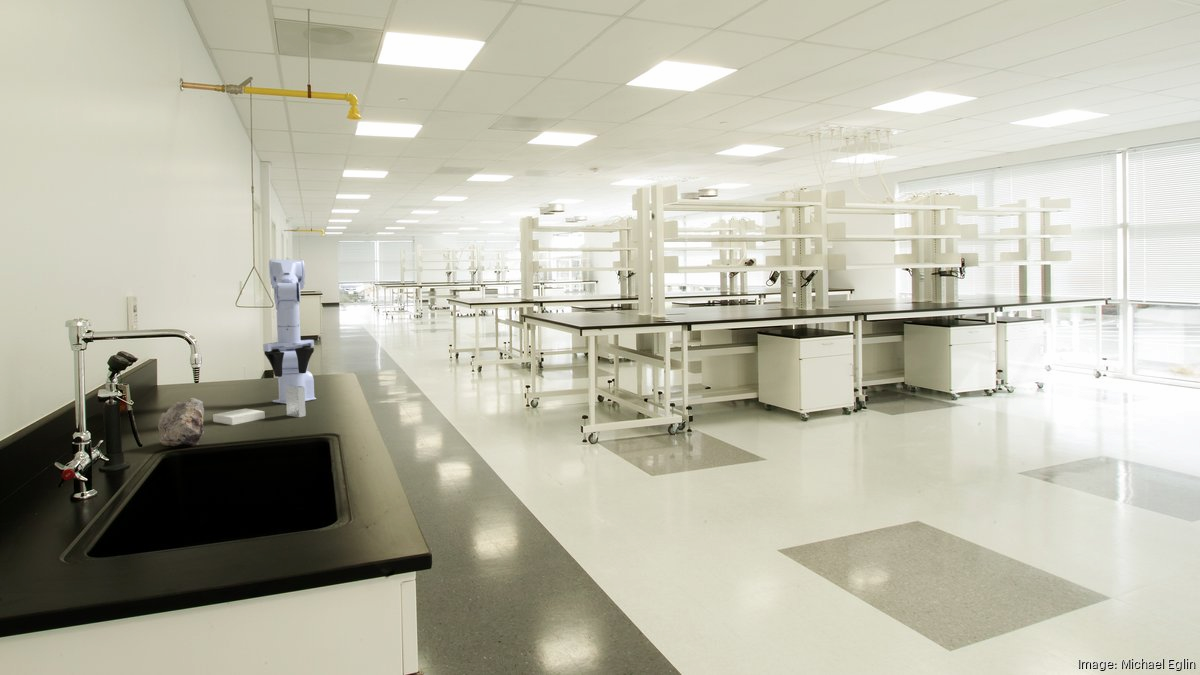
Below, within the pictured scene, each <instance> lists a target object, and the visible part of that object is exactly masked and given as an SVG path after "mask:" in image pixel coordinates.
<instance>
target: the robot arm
mask: <svg viewBox="0 0 1200 675" xmlns="http://www.w3.org/2000/svg"><path fill="white" fill-rule="evenodd" d="M268 267H269V278H270V285H271V288H272V289H273V297H274V299H273V300H274V304H275V310H276V328H277V329H276V330H277V333H276V334H277V342H275V341H274V342H269V343H263V344H262V346H263V348H262V349H263V350H262V351H263V352H264V356H265V357H266V358H267V360H268V362H269V363H270V365H271V368H272V372H273V375H274V377H276V378H277V380H278V383H277V384H278V399H273V400H272V403H280V404H286V386H291V385H294V386H302V387H305V402H308V401H314V400H317V397H315V380H314V376H313V374H312V372H310V371H309V370H308V369H309V368H310V367H309V366H310V364H309V362H310V358H311V357H312V354H313V353H314V351H315V348H314V347H315V340H314V339H301V321H300V320H301V318H300V315H301V313H300V303H301V301H302V300H301V290H303V289H304V288H305V283H306V282H305V280H306V279H305V278H306V270H305V261H304V260H303V259H278V258H277V259H274V258H271V259H270V260H269V262H268Z"/></svg>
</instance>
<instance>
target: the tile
mask: <svg viewBox="0 0 1200 675" xmlns="http://www.w3.org/2000/svg"><path fill="white" fill-rule="evenodd" d="M265 414H266V413H265V411H263V410H258V409H251V408H242V409H241V408H240V409H237V410H236V409H235V410H230V411H229V410H228V411H226V412H219V413H215V414H212V420H213V422H214V423H219V424H225V425H231V426H234V425H239V424H244V423H248V422H253V421H259V420H263V419H266V415H265Z"/></svg>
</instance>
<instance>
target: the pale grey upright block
mask: <svg viewBox="0 0 1200 675" xmlns="http://www.w3.org/2000/svg"><path fill="white" fill-rule="evenodd" d="M306 414H307V412H306V401H305V387H302V386H294V385H291V386H286V416H289V417H295V418H302V417H306Z"/></svg>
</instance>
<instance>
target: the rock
mask: <svg viewBox="0 0 1200 675" xmlns="http://www.w3.org/2000/svg"><path fill="white" fill-rule="evenodd" d="M204 415H205V408H204V402H203V401H202V400H200V399H198V398H195V397H192V398H191V397H190V398H189V399H188V400H187V401H186V402H185V401H183V402H180V401H177V402H175V403H174V404H173V405H172V406H170V407H169V408H168V409H167V411H166V412H163V413H161V415H160V417H159V419H158V420H159V421H158V426H157V427H158V428H157V429H158V435H159V436H158V438H159V442H160V444H161V445H162V446H163V445H164V446H167V447H168V446H169V447H170V446H172V447H175V446H176V447H177V446H181V445H188V446H198V445H199V444H200V442H199V441H200V438H202V436H203V435H204V432H205V431H204V430H205V425H204Z"/></svg>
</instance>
